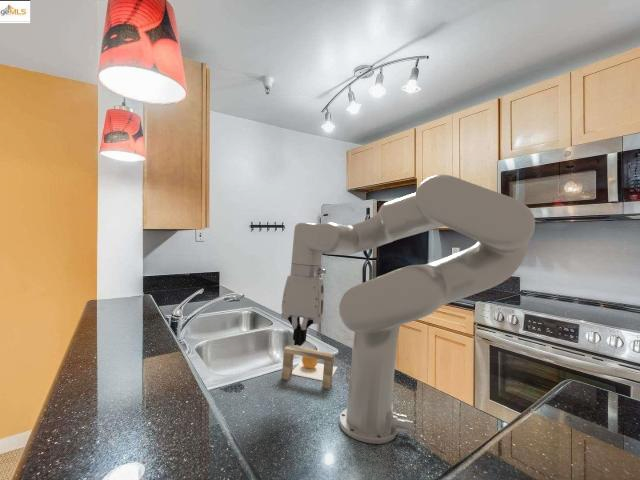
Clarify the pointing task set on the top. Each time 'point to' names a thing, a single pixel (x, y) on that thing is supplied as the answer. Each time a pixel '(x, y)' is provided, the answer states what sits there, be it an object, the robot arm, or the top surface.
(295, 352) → the bridge
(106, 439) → the top surface
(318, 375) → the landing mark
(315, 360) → the ball
